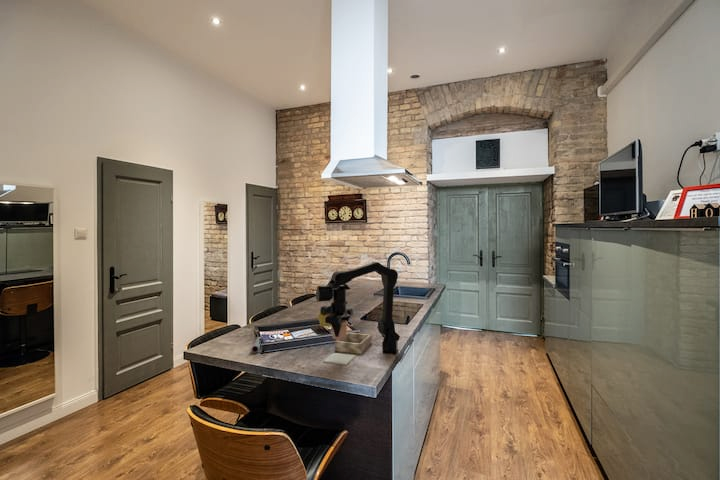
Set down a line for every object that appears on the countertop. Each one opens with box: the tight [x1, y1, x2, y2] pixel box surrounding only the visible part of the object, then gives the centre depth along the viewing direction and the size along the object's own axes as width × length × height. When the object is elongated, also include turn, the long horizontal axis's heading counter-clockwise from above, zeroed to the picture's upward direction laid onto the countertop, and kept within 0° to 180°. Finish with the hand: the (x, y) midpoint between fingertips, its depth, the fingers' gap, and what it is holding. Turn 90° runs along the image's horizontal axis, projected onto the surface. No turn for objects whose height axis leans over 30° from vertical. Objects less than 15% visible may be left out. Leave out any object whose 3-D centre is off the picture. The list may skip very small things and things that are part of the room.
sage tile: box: [323, 352, 356, 366], centre depth 152 cm, size 11×11×1 cm
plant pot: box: [317, 312, 334, 327], centre depth 200 cm, size 10×10×10 cm
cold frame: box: [334, 332, 373, 355], centre depth 169 cm, size 13×16×4 cm
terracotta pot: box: [331, 320, 349, 341], centre depth 152 cm, size 7×7×7 cm
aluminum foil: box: [250, 336, 261, 354], centre depth 174 cm, size 23×7×3 cm, turn 8°
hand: (339, 334), depth 152 cm, fingers closed on terracotta pot, 6 cm apart
